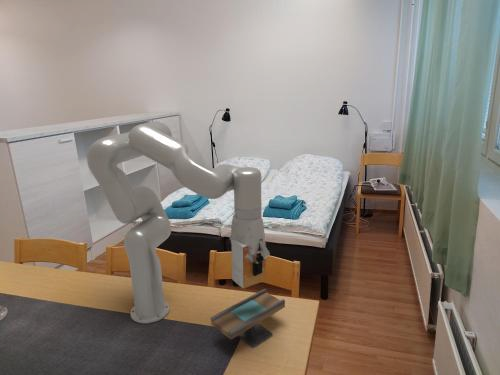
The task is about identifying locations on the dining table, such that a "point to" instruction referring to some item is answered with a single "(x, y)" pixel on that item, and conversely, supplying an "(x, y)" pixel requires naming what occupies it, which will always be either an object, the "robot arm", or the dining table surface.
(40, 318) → the dining table surface
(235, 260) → the small box
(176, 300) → the dining table surface
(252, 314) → the brown flat channel
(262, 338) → the pivot stand
